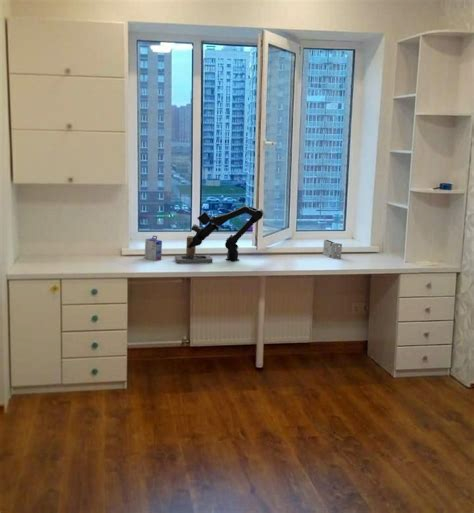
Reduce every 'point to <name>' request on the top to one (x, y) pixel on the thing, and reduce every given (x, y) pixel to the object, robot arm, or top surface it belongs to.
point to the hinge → (332, 249)
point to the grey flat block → (193, 259)
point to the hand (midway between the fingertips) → (189, 245)
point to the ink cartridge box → (153, 248)
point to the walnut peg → (190, 250)
